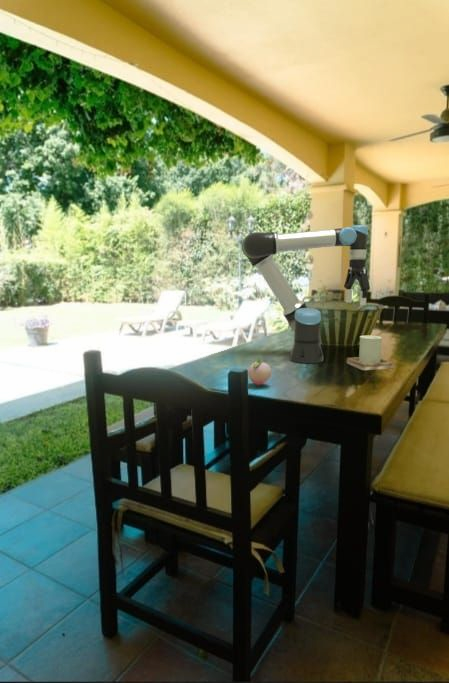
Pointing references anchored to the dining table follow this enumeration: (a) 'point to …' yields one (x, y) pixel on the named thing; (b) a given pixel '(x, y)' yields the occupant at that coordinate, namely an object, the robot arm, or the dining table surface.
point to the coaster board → (370, 364)
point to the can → (370, 349)
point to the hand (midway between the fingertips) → (355, 303)
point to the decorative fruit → (259, 372)
